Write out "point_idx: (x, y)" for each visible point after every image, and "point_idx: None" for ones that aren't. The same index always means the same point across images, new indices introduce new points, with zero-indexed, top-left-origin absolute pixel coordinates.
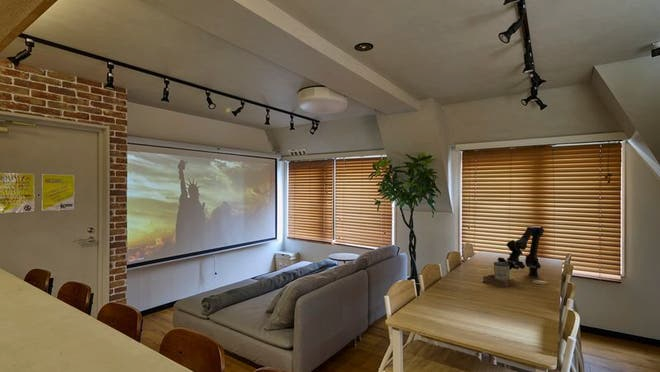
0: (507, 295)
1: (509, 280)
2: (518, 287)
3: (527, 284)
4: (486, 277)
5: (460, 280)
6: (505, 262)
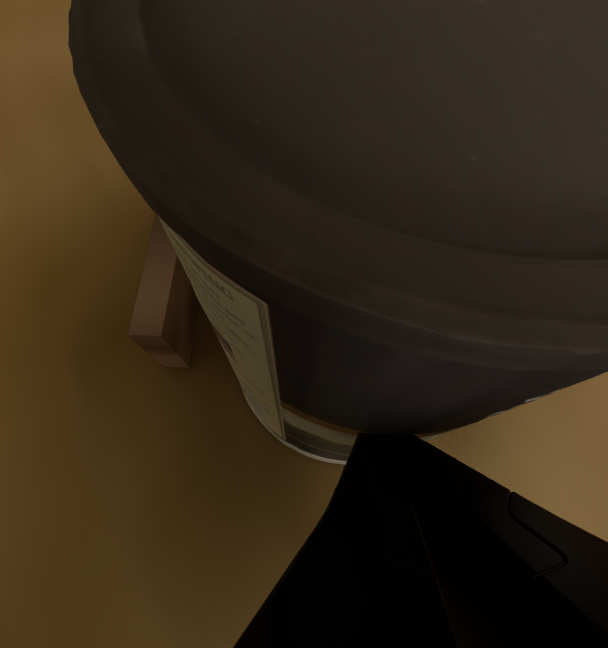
0: (61, 23)
1: (154, 224)
2: (67, 304)
3: (2, 610)
4: None
5: None
6: (539, 264)
